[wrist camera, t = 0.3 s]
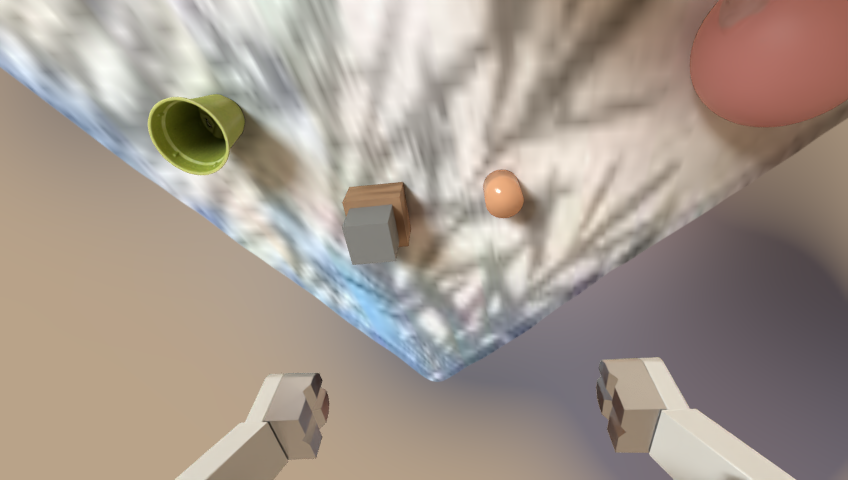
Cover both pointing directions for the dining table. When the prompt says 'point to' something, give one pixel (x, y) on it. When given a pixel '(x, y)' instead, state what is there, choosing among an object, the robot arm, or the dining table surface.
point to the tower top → (371, 234)
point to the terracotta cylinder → (502, 194)
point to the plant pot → (196, 131)
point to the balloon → (772, 60)
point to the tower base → (382, 196)
